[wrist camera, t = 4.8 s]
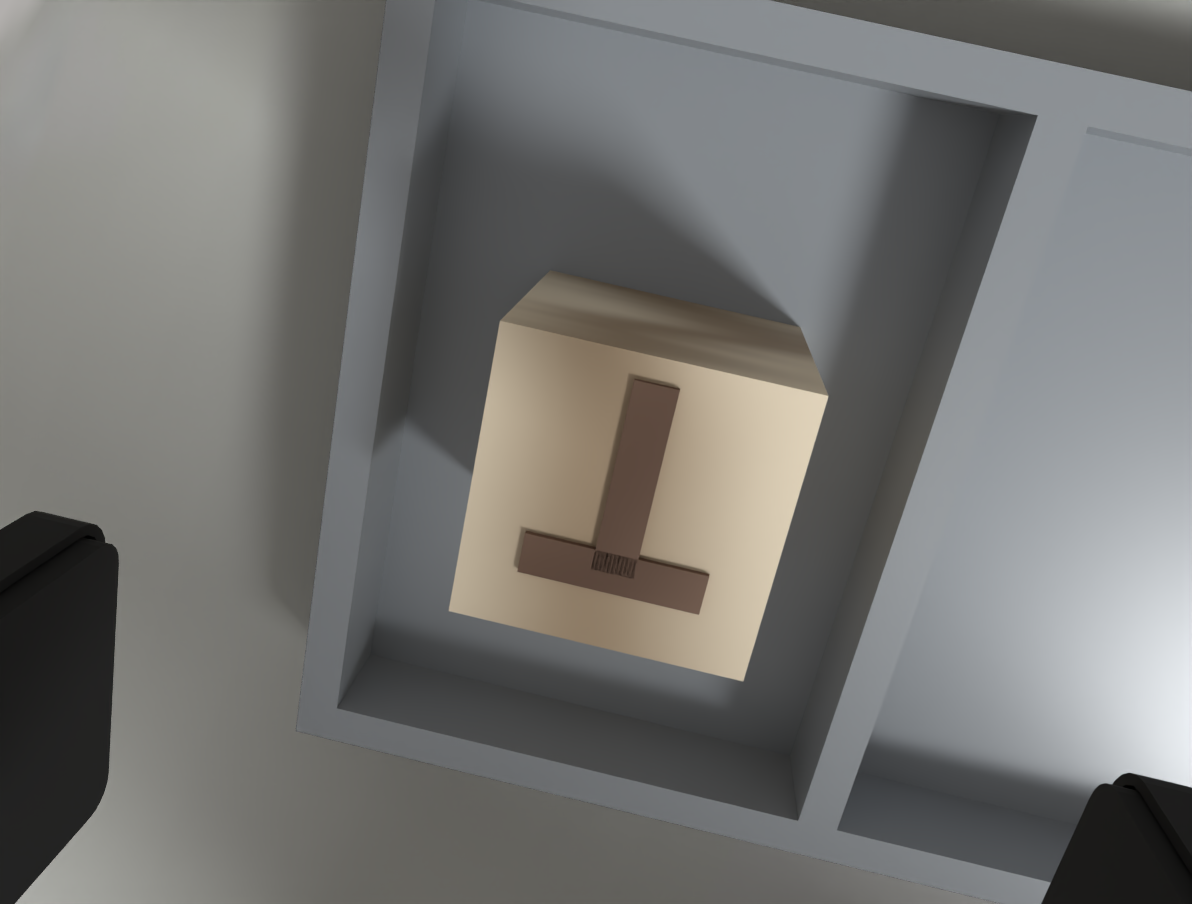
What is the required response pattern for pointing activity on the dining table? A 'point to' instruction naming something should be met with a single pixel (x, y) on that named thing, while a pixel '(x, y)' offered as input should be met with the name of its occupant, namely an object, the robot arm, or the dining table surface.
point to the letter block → (637, 472)
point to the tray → (844, 440)
